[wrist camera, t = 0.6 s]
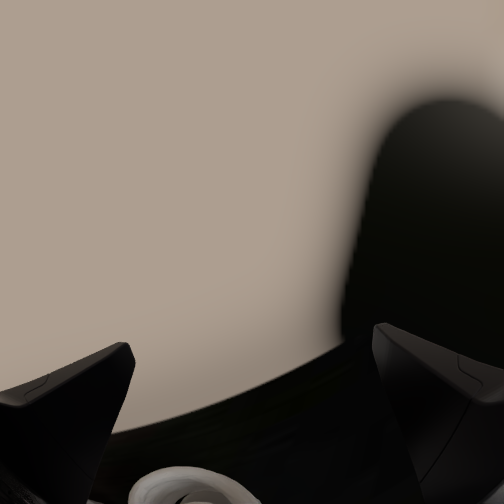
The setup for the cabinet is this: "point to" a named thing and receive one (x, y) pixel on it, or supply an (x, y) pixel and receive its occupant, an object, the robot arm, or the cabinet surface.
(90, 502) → the bowl
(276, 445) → the cabinet surface
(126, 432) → the cabinet surface
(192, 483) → the light bulb
